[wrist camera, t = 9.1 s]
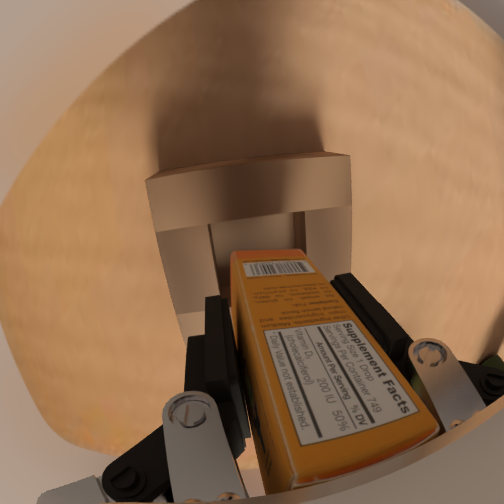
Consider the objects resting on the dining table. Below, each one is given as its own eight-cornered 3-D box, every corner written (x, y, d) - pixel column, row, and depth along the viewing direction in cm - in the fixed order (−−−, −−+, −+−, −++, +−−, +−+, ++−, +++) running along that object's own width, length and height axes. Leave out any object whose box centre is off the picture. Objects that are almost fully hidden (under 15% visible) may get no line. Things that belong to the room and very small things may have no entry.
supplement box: (302, 308, 14) (389, 499, 5) (230, 312, 14) (258, 531, 4) (308, 243, 13) (451, 436, 4) (229, 245, 12) (265, 491, 3)
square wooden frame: (322, 151, 17) (350, 155, 13) (326, 291, 21) (347, 322, 17) (160, 171, 16) (144, 180, 13) (190, 313, 20) (186, 349, 17)
